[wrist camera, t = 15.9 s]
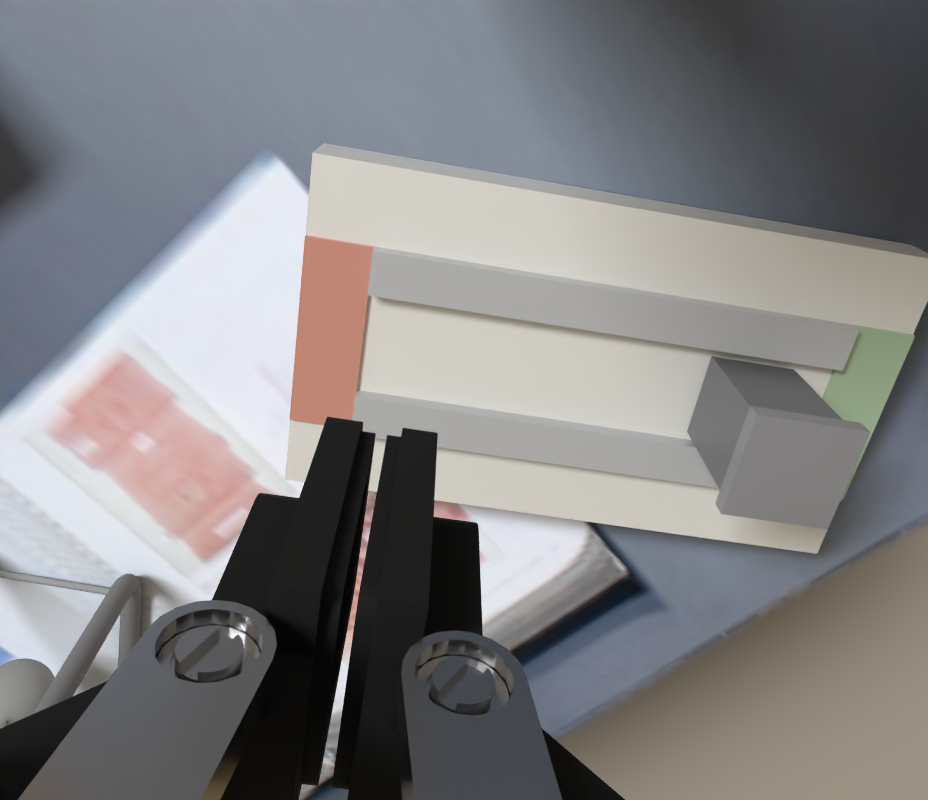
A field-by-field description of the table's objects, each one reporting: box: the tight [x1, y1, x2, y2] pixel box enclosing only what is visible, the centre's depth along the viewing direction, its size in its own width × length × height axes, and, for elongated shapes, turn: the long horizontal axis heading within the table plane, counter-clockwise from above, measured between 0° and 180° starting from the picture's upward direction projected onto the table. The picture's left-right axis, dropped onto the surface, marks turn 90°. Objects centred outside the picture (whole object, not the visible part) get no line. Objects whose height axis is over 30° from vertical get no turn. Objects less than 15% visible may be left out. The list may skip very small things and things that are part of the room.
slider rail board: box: [285, 143, 928, 554], centre depth 38 cm, size 16×28×4 cm, turn 80°
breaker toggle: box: [687, 356, 870, 529], centre depth 35 cm, size 5×5×7 cm
